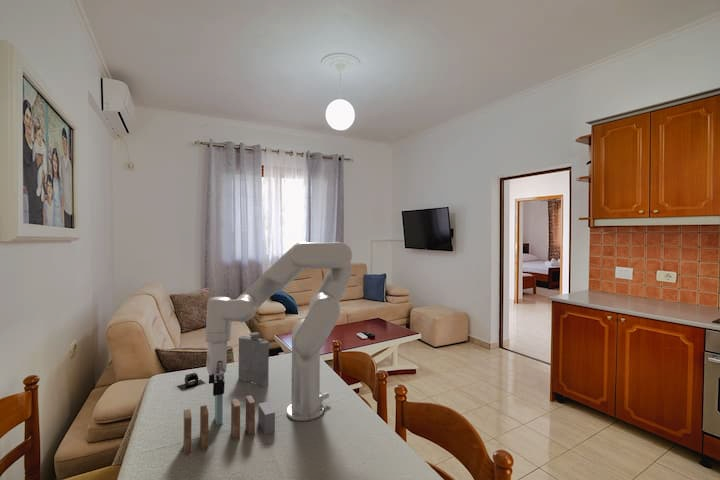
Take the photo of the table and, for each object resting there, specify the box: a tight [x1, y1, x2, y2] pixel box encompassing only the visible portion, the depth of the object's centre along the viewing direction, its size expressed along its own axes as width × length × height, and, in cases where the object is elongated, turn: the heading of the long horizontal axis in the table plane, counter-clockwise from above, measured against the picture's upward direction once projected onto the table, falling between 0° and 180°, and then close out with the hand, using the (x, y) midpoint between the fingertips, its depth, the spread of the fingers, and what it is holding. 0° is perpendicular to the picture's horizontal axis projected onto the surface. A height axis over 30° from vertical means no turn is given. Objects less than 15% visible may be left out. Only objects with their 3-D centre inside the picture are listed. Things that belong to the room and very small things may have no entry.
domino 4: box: [230, 398, 241, 441], centre depth 102 cm, size 2×5×10 cm, turn 31°
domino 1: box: [183, 408, 193, 455], centre depth 95 cm, size 2×5×10 cm, turn 31°
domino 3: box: [214, 394, 224, 426], centre depth 110 cm, size 2×5×10 cm, turn 31°
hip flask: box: [238, 331, 270, 388], centre depth 141 cm, size 16×4×20 cm, turn 60°
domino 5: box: [245, 394, 256, 437], centre depth 104 cm, size 2×5×10 cm, turn 31°
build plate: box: [176, 372, 206, 391], centre depth 137 cm, size 12×7×5 cm, turn 135°
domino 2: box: [199, 404, 209, 451], centre depth 97 cm, size 2×5×10 cm, turn 31°
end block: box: [257, 401, 276, 435], centre depth 107 cm, size 3×8×6 cm, turn 31°
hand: (216, 388), depth 110 cm, fingers open, 9 cm apart
